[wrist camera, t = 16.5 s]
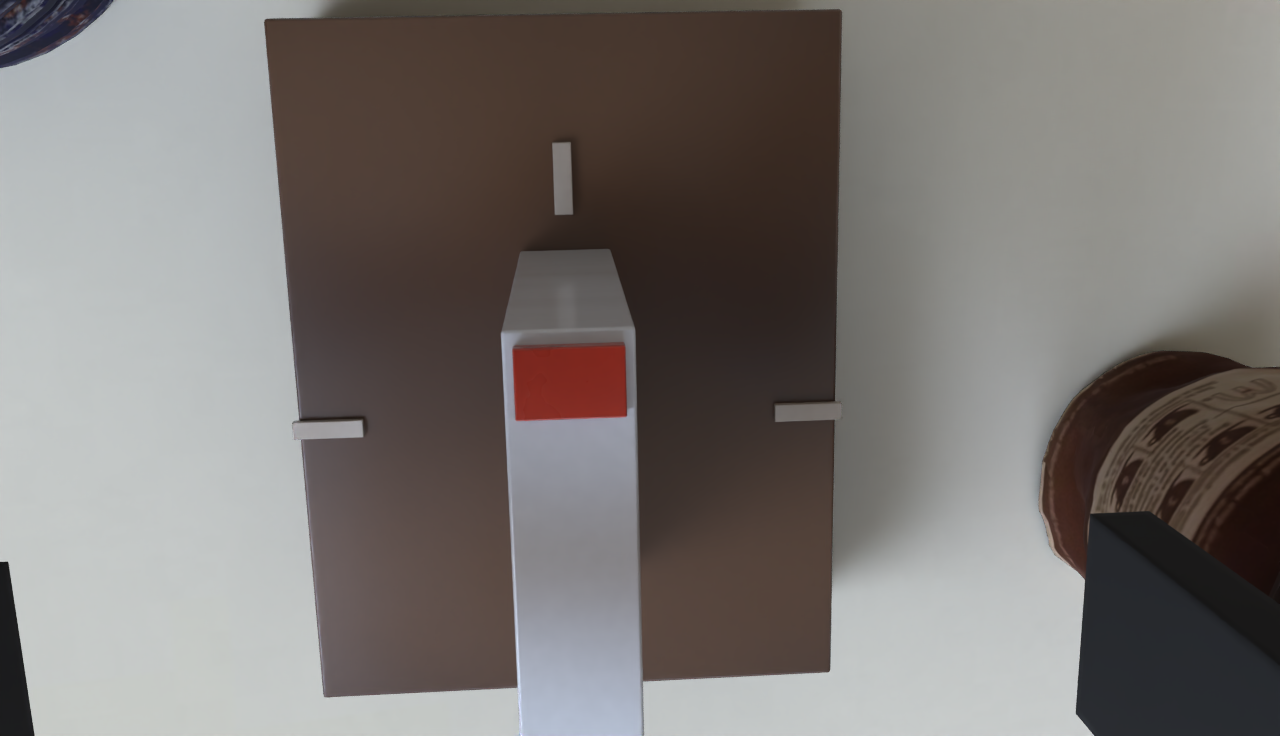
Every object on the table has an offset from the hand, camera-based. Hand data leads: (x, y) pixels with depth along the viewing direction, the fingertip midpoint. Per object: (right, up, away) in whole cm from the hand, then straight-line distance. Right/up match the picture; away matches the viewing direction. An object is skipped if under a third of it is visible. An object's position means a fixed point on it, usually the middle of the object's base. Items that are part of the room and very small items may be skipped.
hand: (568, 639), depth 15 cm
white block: (-1, +2, +10) cm, 10 cm away
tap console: (-1, +4, +14) cm, 14 cm away
